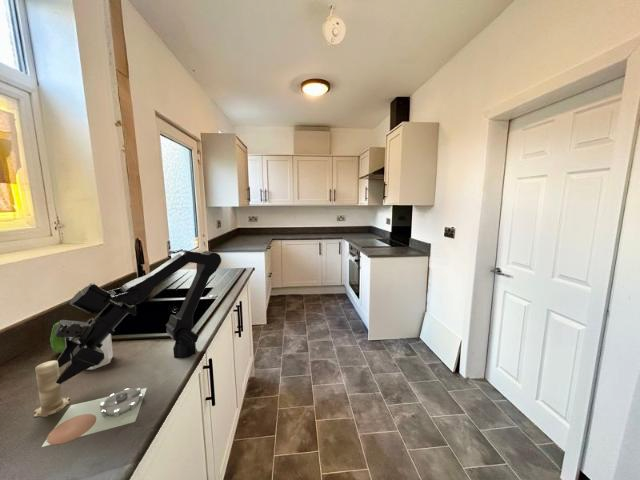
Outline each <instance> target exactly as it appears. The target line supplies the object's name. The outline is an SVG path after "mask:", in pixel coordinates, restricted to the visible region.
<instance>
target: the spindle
mask: <svg viewBox="0 0 640 480" xmlns="http://www.w3.org/2000/svg"><path fill="white" fill-rule="evenodd" d="M34 369H35V377H36V384H37V391H38V397H39V404H40V407H38V408H36V409H35V410H34V411H33V412H34V414H33V417H34V418H38V417H42V418H47V417H49V415H52V414H55V413H59V412H61V411H62V410H63V409H64V408H65V407H66V406H70V403H71V401H69V400H70V399H71V398H70V397H68V396H67V397H63V396H64V395H63V391H62V390H63V389H62V383H61V384H58V383H56V381H57V380H58V378H59V377H60V375H61V374H60V368H59V366H58V361H57V360H48V361H45V362H42V363H40V364H39V365H37V366H36V367H35V368H34Z"/></svg>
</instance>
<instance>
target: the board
mask: <svg viewBox="0 0 640 480" xmlns="http://www.w3.org/2000/svg"><path fill="white" fill-rule="evenodd" d="M140 389H141V394H142V393H143V400H144V397H145V394H146V391H147V389H148V387H143V388H140ZM108 398H109V396H105V397H102V398H97V399H93V400H88V401H84V402H80V403H75V404H71V405H69V407H68V409H67V410H66V412H65V413H64V414H63V416H62V417H61V418H60V419H59V421H58V423H57V424H56V426H55V427H54V428H53V429H52V430H51V431H50V432H49V434H48V435H47V437H46V440H45V441H44V442H43V444H42V446H41V448H44V447H48V446H51V445H63V444H66V443H69V442H72V441H73V440H75V439H78V438H81V437H85V436H88V435H91V434H95V433H100V432H102V431H103V432H104V431H106V430H107V431H108V430H111V429H114V428H117V427H121V426H125V425H129V424H132V423H133V424H134V423H135V422H136V420H137V418H138V415H139V413H140V410H141V406H142V403H143V400H142V401H140V402H139V403H138V405H137V406H136V408H135V409H134V410H132V411H131V410H130V411H128V412H126V413H124V414H121V415H120V416H119V417H114V416H111V417H110V416H106V417H105V418H104V417H102V414H101V410H100V405H101V403H103V402H105V401H106V400H107V399H108Z"/></svg>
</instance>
